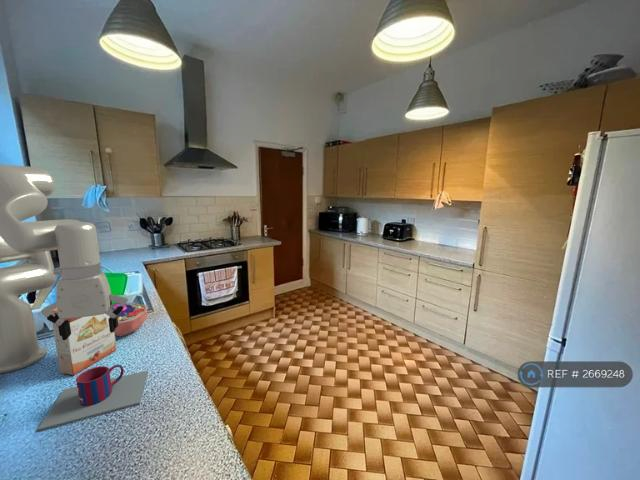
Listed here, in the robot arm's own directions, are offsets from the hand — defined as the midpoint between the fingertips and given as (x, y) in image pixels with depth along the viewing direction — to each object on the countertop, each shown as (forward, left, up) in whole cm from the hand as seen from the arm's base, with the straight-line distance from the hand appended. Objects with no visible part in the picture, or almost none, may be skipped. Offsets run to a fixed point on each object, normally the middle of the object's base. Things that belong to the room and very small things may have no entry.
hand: (90, 333), depth 70 cm
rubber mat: (+1, -1, -19) cm, 19 cm away
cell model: (-2, +38, -19) cm, 43 cm away
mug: (+1, 0, -18) cm, 18 cm away
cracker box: (-7, +20, -19) cm, 28 cm away
